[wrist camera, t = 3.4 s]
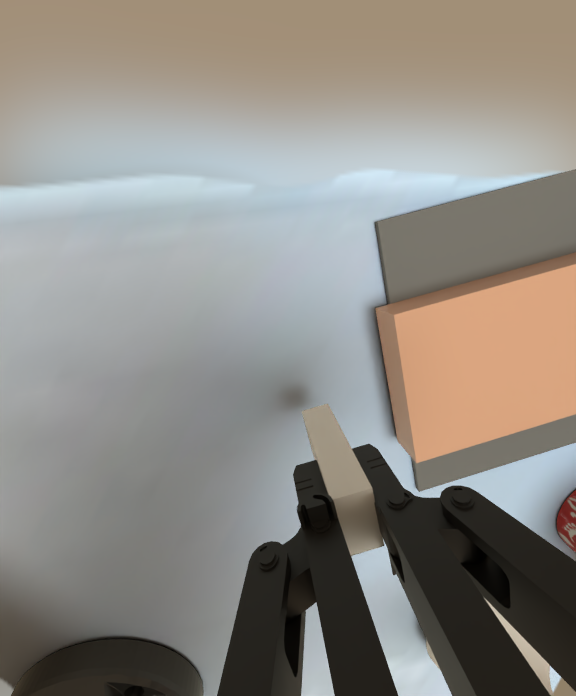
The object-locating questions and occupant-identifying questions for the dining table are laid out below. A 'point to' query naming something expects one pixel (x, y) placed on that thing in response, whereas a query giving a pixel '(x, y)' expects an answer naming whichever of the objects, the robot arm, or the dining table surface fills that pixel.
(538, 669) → the flower in vase
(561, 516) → the mug
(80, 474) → the dining table surface
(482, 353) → the tile
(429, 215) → the mat
